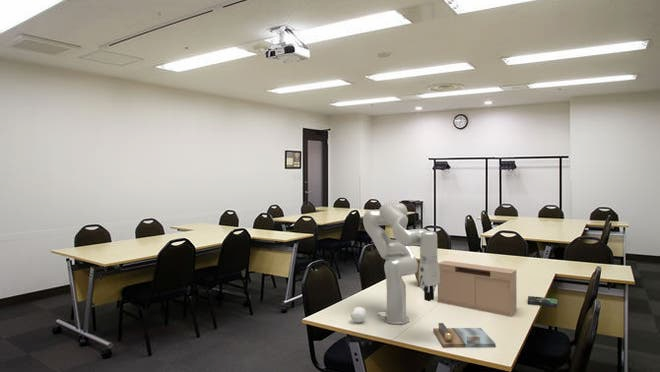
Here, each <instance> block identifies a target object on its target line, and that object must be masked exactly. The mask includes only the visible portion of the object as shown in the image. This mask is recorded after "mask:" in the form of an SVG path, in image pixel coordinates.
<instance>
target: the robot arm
mask: <svg viewBox="0 0 660 372" xmlns="http://www.w3.org/2000/svg"><path fill="white" fill-rule="evenodd" d="M362 222H363V226H364V230H365V231H366V233H367V234H368V236H369V237H370V238H371V240H372V242H373V243H374V246H375V247H376V249H377V251H378V253H379V255H380V257H381V258H382V259H384V260H386V261H385V262H384V265H383V267H384V268H383V269H384V274H385V282H386V309H385V311H377V317H380V318H383V320H384V322H386V323H388V324H390V323H391V325H405V324H407V323H409V322H410V318H409V316H407V289H406V288H407V287H406V283H405V281H404V279H403V278H402V277H406V276H411V275H415V273H416V272H417V271H418V263H417V260H418V259H416V256H415V255H414V253H413V252H412V250H411V248H410V247H416V246H419V260H420V266H419V284H420V287H419V289H421V290H422V291H423V294H424V296H423V300H424V301H427V302H431V301H434V300H435V290H436V287H437V286H438V284H439V283H440V269H439V263H440V262H439V261H438V234H437V232H436V231H432V230H431V231H430V230H427V228H414V229H406V227H407V226H408V224H409V223H408V222H409V217H408V209H407V205H405V204H404V203H402V202H392V203H391V202H389V203H384V204H383V205H381V206H380V208H379V209H371V210H368V211H366V212H365V213H364V214H363V217H362ZM389 225H390V226H391V227H392V233H393V237H394V239H391V237H390V236H389V234H388V232H387V231H386V230H385V229H383V228H382V227H381V226H389Z"/></svg>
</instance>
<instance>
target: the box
mask: <svg viewBox="0 0 660 372" xmlns="http://www.w3.org/2000/svg"><path fill="white" fill-rule="evenodd" d="M438 263H439V269H440V283H439V284H437V303H440V304H446V305H450V306H455V307H461V308H466V309H471V310H476V311H481V312H486V313H491V314H494V315H499V316H506V317H509V318H512V317H513V316H514V315H515V314H516V313H518V312H517V302H518V301H517V297H518V296H517V269H512V268H505V267H498V266H497V267H496V266H490V265H480V264H474V263H466V262H458V261H449V260H443V261H441V262H440V261H439V262H438Z"/></svg>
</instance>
